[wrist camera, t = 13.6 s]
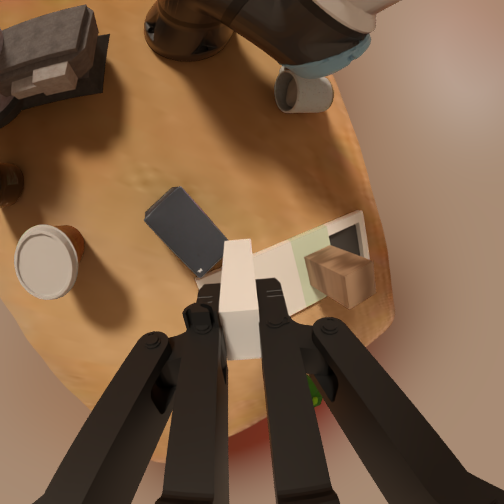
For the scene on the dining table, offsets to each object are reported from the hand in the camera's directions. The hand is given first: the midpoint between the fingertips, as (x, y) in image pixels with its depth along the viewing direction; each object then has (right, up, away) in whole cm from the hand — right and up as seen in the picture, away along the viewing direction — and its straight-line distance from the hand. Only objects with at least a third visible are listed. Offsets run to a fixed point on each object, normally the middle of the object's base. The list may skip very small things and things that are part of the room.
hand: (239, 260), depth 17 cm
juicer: (-37, +29, +10) cm, 48 cm away
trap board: (+9, -4, +36) cm, 37 cm away
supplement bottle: (-38, +11, +14) cm, 42 cm away
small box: (-10, +5, +26) cm, 29 cm away
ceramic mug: (+8, +29, +27) cm, 41 cm away
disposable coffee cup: (-28, +2, +20) cm, 35 cm away
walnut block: (+14, -2, +36) cm, 38 cm away
